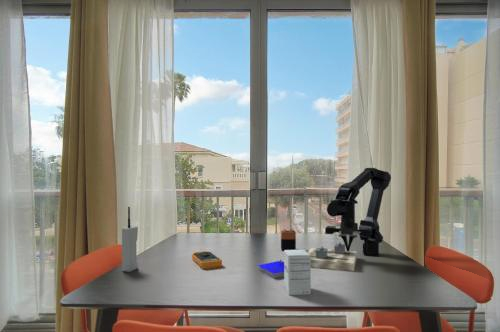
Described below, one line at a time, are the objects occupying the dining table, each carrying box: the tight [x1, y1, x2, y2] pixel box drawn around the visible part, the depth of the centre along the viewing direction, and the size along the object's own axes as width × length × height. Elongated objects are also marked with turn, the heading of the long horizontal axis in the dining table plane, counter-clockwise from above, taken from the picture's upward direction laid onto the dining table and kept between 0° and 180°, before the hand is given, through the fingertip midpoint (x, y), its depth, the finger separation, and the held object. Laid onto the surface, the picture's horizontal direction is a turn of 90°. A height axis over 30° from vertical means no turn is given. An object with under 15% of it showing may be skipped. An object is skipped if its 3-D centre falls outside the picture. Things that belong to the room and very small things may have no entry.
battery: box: [280, 228, 297, 252], centre depth 167 cm, size 4×7×10 cm, turn 91°
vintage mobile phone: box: [121, 206, 139, 273], centre depth 136 cm, size 4×5×25 cm
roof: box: [256, 259, 284, 279], centre depth 132 cm, size 12×12×5 cm
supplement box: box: [283, 249, 312, 296], centre depth 112 cm, size 7×7×13 cm
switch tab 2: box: [334, 242, 346, 254], centre depth 149 cm, size 4×5×4 cm
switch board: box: [307, 247, 358, 272], centre depth 146 cm, size 20×20×3 cm
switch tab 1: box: [316, 245, 328, 259], centre depth 142 cm, size 4×5×4 cm
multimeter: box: [191, 250, 223, 270], centre depth 146 cm, size 9×18×3 cm, turn 24°
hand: (348, 251), depth 148 cm, fingers closed
